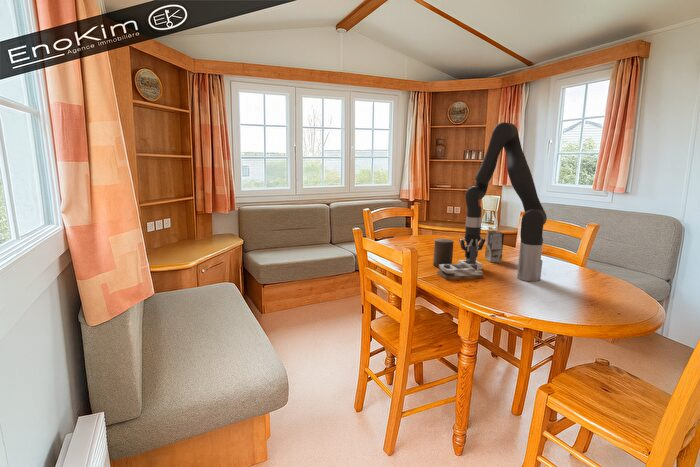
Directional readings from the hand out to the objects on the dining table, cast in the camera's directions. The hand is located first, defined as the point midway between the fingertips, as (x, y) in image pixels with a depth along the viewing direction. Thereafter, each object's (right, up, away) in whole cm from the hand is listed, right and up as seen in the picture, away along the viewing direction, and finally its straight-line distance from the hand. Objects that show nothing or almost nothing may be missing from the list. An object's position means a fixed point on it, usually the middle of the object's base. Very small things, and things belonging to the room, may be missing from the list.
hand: (471, 257), depth 194 cm
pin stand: (0, -5, +1) cm, 5 cm away
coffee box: (+17, -2, +14) cm, 22 cm away
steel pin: (0, -3, +1) cm, 3 cm away
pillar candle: (-14, -4, +3) cm, 15 cm away
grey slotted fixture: (-10, -8, -13) cm, 18 cm away
